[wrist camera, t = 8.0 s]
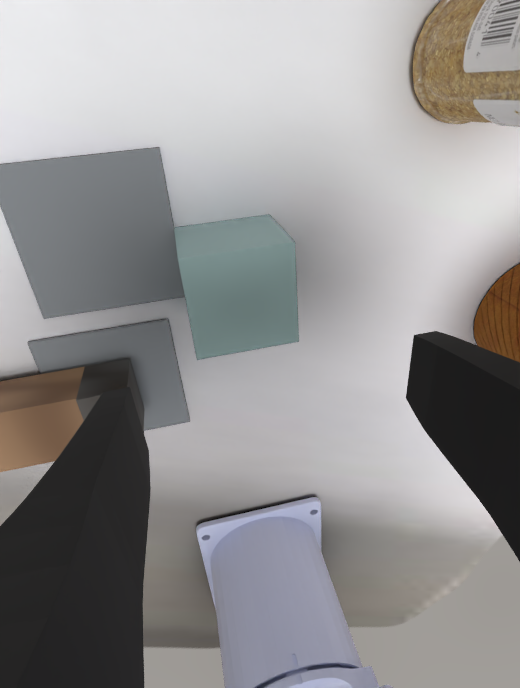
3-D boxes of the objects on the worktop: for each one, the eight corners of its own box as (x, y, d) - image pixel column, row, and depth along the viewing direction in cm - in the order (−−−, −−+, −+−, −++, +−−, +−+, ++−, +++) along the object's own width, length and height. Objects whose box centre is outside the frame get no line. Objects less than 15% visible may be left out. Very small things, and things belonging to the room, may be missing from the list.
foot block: (274, 299, 20) (298, 341, 17) (190, 313, 19) (197, 360, 16) (269, 213, 18) (294, 241, 15) (173, 227, 17) (178, 259, 14)
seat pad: (186, 294, 19) (186, 296, 19) (44, 317, 18) (43, 319, 18) (159, 147, 16) (159, 147, 16) (-14, 165, 15) (-16, 166, 15)
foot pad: (189, 419, 22) (189, 421, 22) (71, 443, 22) (70, 445, 21) (167, 318, 19) (167, 320, 19) (28, 341, 18) (27, 343, 18)
